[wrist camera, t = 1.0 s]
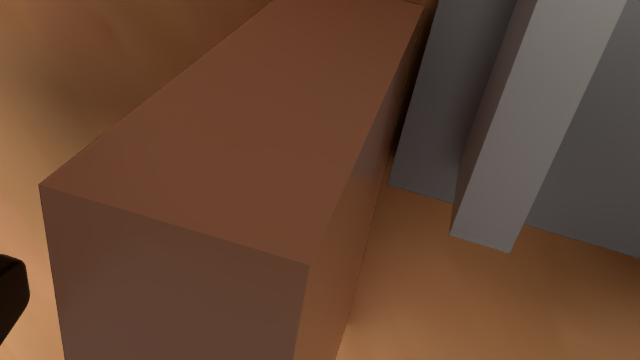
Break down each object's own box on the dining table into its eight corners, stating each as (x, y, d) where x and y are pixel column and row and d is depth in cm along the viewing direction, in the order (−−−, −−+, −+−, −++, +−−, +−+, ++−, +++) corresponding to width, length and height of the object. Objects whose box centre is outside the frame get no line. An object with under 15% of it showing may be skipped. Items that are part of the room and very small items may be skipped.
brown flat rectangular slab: (425, 5, 11) (308, 265, 5) (346, 324, 16) (238, 664, 10) (301, -23, 12) (38, 183, 5) (261, 298, 17) (102, 610, 10)
